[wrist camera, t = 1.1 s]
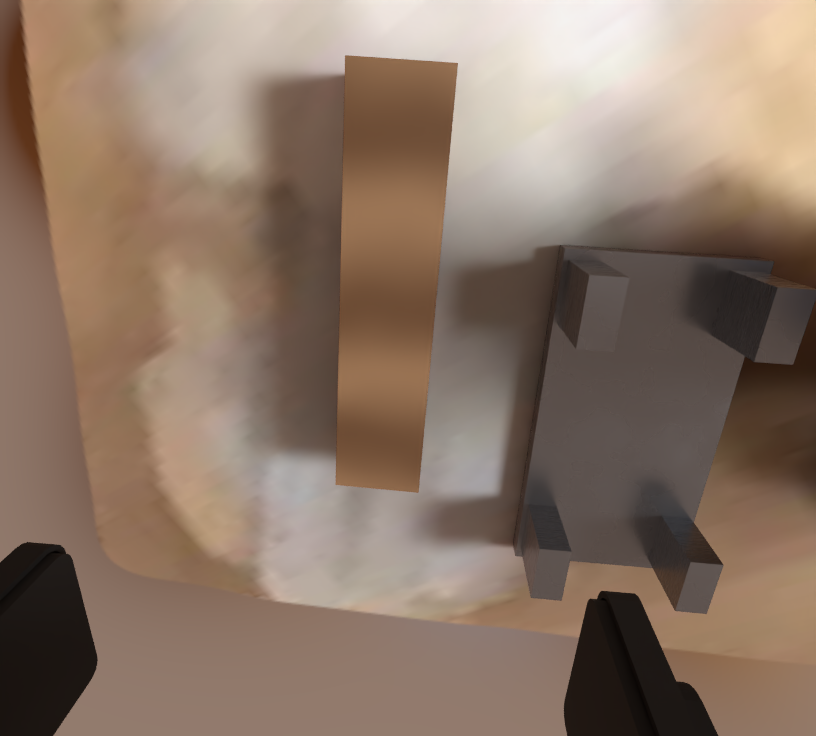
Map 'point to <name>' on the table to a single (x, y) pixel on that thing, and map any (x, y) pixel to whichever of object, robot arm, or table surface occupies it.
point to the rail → (389, 263)
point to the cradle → (642, 408)
